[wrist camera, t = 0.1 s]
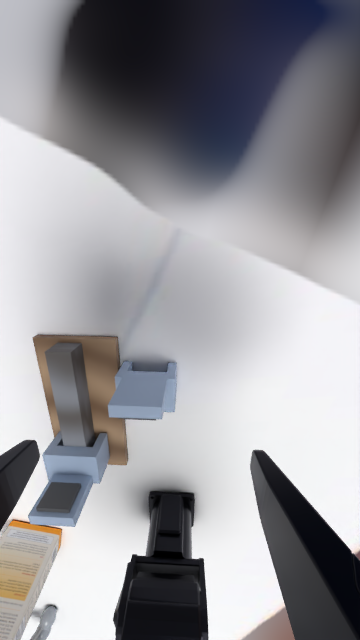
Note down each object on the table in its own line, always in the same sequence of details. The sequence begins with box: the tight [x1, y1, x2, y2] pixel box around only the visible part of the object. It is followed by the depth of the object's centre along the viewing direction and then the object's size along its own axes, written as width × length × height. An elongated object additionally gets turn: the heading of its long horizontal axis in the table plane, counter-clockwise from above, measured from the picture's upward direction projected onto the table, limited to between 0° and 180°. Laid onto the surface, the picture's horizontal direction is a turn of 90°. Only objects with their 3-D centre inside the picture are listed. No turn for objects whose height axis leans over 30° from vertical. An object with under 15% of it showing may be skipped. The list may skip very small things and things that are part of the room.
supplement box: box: [0, 521, 62, 640], centre depth 28 cm, size 8×5×13 cm, turn 76°
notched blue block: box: [108, 361, 177, 420], centre depth 21 cm, size 4×6×7 cm, turn 89°
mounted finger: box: [28, 431, 110, 527], centre depth 23 cm, size 4×6×7 cm, turn 89°
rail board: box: [33, 335, 128, 465], centre depth 24 cm, size 18×9×3 cm, turn 179°
